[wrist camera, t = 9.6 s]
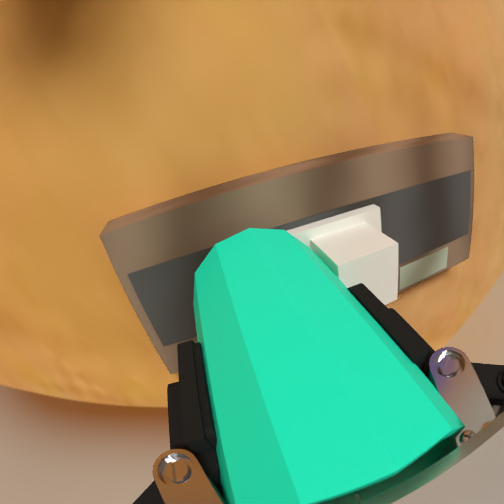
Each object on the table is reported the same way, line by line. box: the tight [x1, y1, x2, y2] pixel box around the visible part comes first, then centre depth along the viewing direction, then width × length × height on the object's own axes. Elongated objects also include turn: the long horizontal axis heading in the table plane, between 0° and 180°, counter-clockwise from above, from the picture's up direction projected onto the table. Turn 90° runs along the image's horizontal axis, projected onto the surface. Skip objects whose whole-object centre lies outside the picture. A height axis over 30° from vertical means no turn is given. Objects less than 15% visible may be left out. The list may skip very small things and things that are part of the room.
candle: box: [193, 228, 466, 504], centre depth 9 cm, size 6×6×12 cm
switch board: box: [100, 133, 474, 374], centre depth 17 cm, size 22×9×2 cm, turn 104°
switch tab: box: [287, 204, 398, 305], centre depth 14 cm, size 5×4×3 cm
